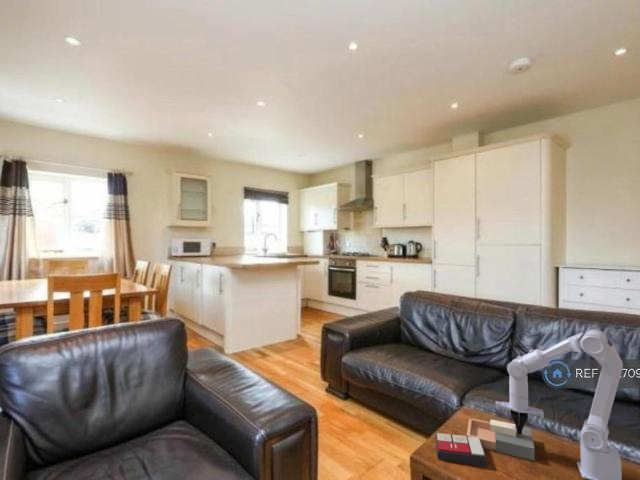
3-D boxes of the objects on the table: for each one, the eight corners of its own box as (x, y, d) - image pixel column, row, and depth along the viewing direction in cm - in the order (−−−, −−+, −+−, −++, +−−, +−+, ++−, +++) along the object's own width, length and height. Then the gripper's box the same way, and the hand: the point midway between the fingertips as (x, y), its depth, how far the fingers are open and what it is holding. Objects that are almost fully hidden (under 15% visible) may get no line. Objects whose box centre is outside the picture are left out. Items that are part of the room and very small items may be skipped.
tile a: (515, 431, 119) (515, 424, 119) (516, 437, 116) (515, 429, 116) (502, 428, 121) (502, 421, 121) (503, 434, 118) (502, 426, 118)
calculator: (435, 431, 121) (480, 435, 117) (436, 443, 121) (481, 448, 116) (437, 448, 110) (486, 454, 106) (437, 462, 110) (487, 468, 106)
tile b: (502, 428, 121) (502, 421, 121) (503, 434, 118) (502, 427, 118) (490, 426, 123) (490, 419, 123) (490, 431, 120) (490, 424, 120)
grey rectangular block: (530, 439, 121) (530, 428, 122) (534, 461, 109) (534, 448, 109) (495, 431, 127) (495, 420, 127) (496, 451, 114) (495, 439, 114)
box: (495, 431, 127) (495, 423, 127) (495, 451, 114) (495, 442, 114) (469, 425, 131) (469, 417, 131) (466, 444, 119) (466, 435, 119)
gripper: (541, 393, 118) (542, 432, 117) (495, 385, 124) (496, 422, 124) (544, 401, 111) (544, 442, 111) (495, 393, 118) (496, 431, 118)
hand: (519, 432), depth 117 cm, fingers closed
